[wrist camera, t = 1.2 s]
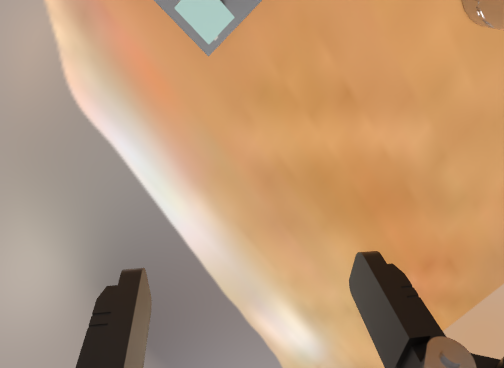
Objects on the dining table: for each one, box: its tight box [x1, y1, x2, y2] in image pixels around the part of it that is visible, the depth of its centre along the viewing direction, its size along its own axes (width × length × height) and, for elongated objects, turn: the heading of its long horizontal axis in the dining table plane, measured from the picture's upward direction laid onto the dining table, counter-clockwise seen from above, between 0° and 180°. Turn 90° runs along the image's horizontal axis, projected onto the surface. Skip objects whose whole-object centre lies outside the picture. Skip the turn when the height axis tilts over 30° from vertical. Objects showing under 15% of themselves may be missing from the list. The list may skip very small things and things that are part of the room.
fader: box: [174, 0, 235, 44], centre depth 24 cm, size 2×3×5 cm
